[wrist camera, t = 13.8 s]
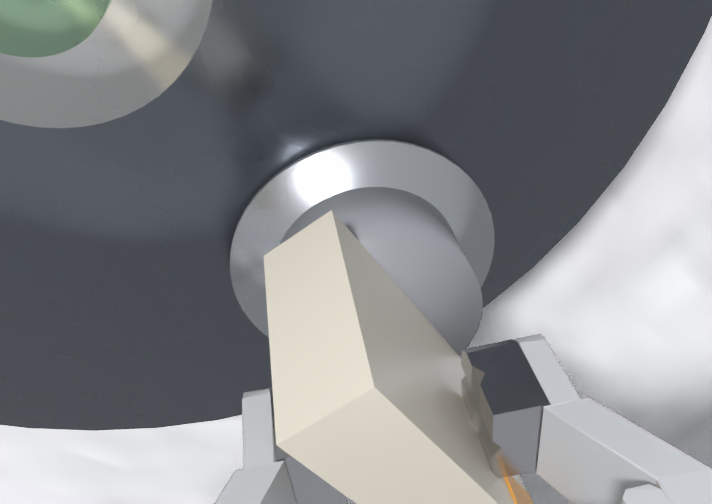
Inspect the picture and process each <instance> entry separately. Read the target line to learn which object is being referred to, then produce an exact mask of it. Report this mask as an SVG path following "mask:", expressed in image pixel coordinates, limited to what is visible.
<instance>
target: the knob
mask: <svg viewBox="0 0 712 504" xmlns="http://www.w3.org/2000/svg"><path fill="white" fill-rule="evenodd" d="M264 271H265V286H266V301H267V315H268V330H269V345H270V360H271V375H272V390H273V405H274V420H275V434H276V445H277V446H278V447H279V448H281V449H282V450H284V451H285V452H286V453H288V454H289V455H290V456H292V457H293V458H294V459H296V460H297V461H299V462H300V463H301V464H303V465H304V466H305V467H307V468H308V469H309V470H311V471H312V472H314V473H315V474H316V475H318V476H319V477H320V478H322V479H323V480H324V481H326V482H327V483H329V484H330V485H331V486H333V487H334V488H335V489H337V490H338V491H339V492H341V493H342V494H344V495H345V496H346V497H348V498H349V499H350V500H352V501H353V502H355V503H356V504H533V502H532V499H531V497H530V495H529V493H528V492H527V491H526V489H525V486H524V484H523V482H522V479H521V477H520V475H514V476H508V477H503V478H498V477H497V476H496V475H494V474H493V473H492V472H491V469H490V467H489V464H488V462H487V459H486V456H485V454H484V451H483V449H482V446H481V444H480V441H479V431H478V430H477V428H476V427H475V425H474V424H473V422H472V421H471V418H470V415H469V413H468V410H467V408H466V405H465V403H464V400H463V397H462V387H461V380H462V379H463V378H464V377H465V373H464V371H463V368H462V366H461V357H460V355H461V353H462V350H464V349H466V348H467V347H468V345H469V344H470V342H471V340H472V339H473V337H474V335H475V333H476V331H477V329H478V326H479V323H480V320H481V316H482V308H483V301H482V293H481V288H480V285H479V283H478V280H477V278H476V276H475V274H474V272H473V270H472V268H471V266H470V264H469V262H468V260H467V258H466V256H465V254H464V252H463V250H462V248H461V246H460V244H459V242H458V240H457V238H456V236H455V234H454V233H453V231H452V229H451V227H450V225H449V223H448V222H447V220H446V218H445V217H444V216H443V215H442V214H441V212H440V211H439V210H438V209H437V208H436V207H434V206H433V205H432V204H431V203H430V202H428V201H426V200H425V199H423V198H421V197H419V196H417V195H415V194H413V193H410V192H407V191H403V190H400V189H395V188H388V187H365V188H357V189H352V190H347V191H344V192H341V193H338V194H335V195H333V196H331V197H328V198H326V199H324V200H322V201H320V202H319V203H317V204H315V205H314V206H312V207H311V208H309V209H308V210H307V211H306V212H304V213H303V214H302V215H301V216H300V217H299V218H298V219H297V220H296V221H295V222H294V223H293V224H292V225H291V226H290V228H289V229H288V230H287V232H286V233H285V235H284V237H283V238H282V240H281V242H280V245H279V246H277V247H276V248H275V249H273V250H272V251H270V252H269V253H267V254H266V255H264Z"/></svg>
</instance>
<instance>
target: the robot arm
mask: <svg viewBox="0 0 712 504" xmlns="http://www.w3.org/2000/svg"><path fill="white" fill-rule="evenodd" d="M461 366H462V368H463V371H464V373H465V377H464V378H463V379H462V380H461V387H462V397H463V400H464V403H465V405H466V408H467V410H468V413H469V415H470V418H471V421H472V422H473V424H474V425H475V427H476V428H477V430H478V431H479V441H480V444H481V446H482V449H483V451H484V454H485V456H486V459H487V462H488V464H489V467H490V469H491V472H492V473H493V474H494V475H496V476H497V477H498V478H503V477H508V476H514V475H519V474H524V473H530V472H535V471H537V473H536V474H537V475H539V476H540V477H541V478H542V479H543V480H545V481H546V482H547V483H548V484H549V485H551V486H552V487H553V488H554V489H555V490H557V491H558V492H559V493H560V494H561V495H562V496H564V497H565V498H566V499H567V500H568V501H570V502H571V503H572V504H712V469H711V468H710V467H708V466H706V465H705V464H703V463H701V462H699V461H698V460H696V459H694V458H692V457H691V456H689V455H687V454H686V453H684V452H682V451H680V450H679V449H677V448H675V447H674V446H672V445H670V444H668V443H667V442H665V441H663V440H661V439H660V438H658V437H656V436H655V435H653V434H651V433H649V432H648V431H646V430H644V429H643V428H641V427H639V426H637V425H636V424H634V423H632V422H630V421H629V420H627V419H625V418H624V417H622V416H620V415H618V414H617V413H615V412H613V411H612V410H610V409H608V408H606V407H605V406H603V405H601V404H599V403H598V402H596V401H594V400H593V399H591V398H589V397H588V398H582V399H581V398H580V396H579V395H578V393H577V391H576V389H575V388H574V386H573V384H572V383H571V381H570V379H569V378H568V376H567V374H566V373H565V371H564V369H563V368H562V366H561V364H560V362H559V361H558V359H557V357H556V356H555V354H554V352H553V351H552V349H551V347H550V346H549V344H548V342H547V341H546V339H545V337H543V336H542V335H541V334H537V335H533V336H528V337H523V338H518V339H514V340H507V341H502V342H498V343H493V344H488V345H483V346H479V347H474V348H469V349H464V350H462V353H461ZM242 425H243V467H244V468H243V469H239V470H235V472H234V473H233V475H232V477H231V478H230V480H229V481H228V483H227V484H226V486H225V488H224V489H223V491H222V492H221V494H220V496H219V497H218V499H217V500H216V502H215V503H214V504H347V501H346V496H345V495H344V494H342V493H341V492H339V491H338V490H337V489H335V488H334V487H333V486H331V485H330V484H329V483H327V482H326V481H324V480H323V479H322V478H320V477H319V476H318V475H316V474H315V473H314V472H312V471H311V470H309V469H308V468H307V467H305V466H304V465H303V464H301V463H300V462H299V461H297V460H296V459H294V458H293V457H292V456H290V455H289V454H288V453H286V452H285V451H284V450H282V449H281V448H279V447H278V446H277V445H276V434H275V420H274V405H273V390H272V387H271V388H267V389H261V390H255V391H250V392H244V393H243V398H242Z"/></svg>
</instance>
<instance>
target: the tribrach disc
mask: <svg viewBox="0 0 712 504" xmlns="http://www.w3.org/2000/svg"><path fill="white" fill-rule="evenodd" d="M711 16H712V0H0V425H9V426H18V427H26V428H47V429H73V430H113V429H135V428H158V427H165V426H173V425H181V424H189V423H196V422H204V421H212V420H219V419H223V418H228V417H232V416H237V415H241V414H242V398H243V393H244V392H250V391H255V390H261V389H267V388H271V387H272V375H271V360H270V345H269V330H268V315H267V301H266V286H265V271H264V255H266V254H267V253H269V252H270V251H272V250H273V249H275V248H276V247H277V246H279V245H280V242H281V240H282V238H283V237H284V235H285V233H286V232H287V230H288V229H289V228H290V226H291V225H292V224H293V223H294V222H295V221H296V220H297V219H298V218H299V217H300V216H301V215H302V214H303V213H304V212H306V211H307V210H308V209H309V208H311V207H312V206H314V205H315V204H317V203H319V202H320V201H322V200H324V199H326V198H328V197H331V196H333V195H335V194H338V193H341V192H344V191H347V190H352V189H357V188H365V187H388V188H395V189H400V190H403V191H407V192H410V193H413V194H415V195H417V196H419V197H421V198H423V199H425V200H426V201H428V202H430V203H431V204H432V205H433V206H434V207H436V208H437V209H438V210H439V211H440V212H441V214H442V215H443V216H444V217H445V218H446V220H447V222H448V223H449V225H450V227H451V229H452V231H453V233H454V234H455V236H456V238H457V240H458V242H459V244H460V246H461V248H462V250H463V252H464V254H465V256H466V258H467V260H468V262H469V264H470V266H471V268H472V270H473V272H474V274H475V276H476V278H477V280H478V283H479V285H480V288H481V293H482V301H483V307H485V306H486V305H487V304H489V303H490V302H491V301H492V300H493V299H495V298H496V297H497V296H498V295H500V294H501V293H502V292H503V291H504V290H506V289H507V288H508V287H509V286H511V285H512V284H513V283H514V282H515V281H517V280H518V279H519V278H520V277H522V276H523V275H524V274H525V273H526V272H528V271H529V270H530V269H531V268H533V267H534V266H535V265H536V264H537V263H538V262H539V261H540V260H541V259H542V258H543V257H544V256H545V255H546V254H547V253H548V252H549V251H550V250H551V249H552V248H553V247H554V246H555V245H556V244H557V243H558V242H559V241H560V240H561V239H562V238H563V237H564V236H565V235H566V234H567V233H568V232H569V231H570V230H571V229H572V228H573V227H574V226H575V225H576V224H577V223H578V222H579V221H580V220H581V218H582V217H583V216H584V215H585V214H586V212H587V211H588V210H589V209H590V207H591V206H592V205H593V204H594V203H595V201H596V200H597V199H598V198H599V197H600V195H601V194H602V193H603V192H604V190H605V189H606V188H607V187H608V186H609V184H610V183H611V182H612V181H613V179H614V178H615V177H616V176H617V175H618V173H619V172H620V171H621V170H622V169H623V167H624V166H625V164H626V163H627V161H628V160H629V158H630V157H631V155H632V154H633V153H634V151H635V150H636V148H637V147H638V145H639V144H640V142H641V141H642V139H643V138H644V136H645V135H646V133H647V132H648V130H649V129H650V127H651V126H652V124H653V123H654V121H655V120H656V118H657V117H658V115H659V114H660V112H661V111H662V109H663V108H664V106H665V105H666V103H667V101H668V99H669V97H670V96H671V94H672V92H673V90H674V88H675V86H676V84H677V82H678V81H679V79H680V77H681V75H682V73H683V71H684V69H685V68H686V66H687V64H688V62H689V60H690V58H691V56H692V54H693V53H694V51H695V49H696V47H697V45H698V43H699V41H700V40H701V38H702V36H703V34H704V32H705V30H706V28H707V25H708V23H709V20H710V18H711Z"/></svg>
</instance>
